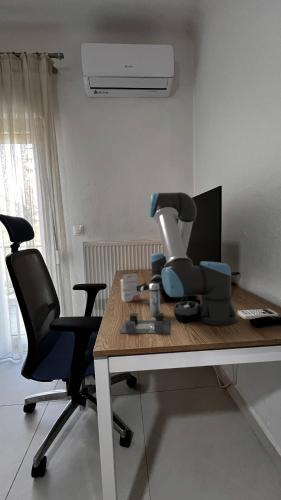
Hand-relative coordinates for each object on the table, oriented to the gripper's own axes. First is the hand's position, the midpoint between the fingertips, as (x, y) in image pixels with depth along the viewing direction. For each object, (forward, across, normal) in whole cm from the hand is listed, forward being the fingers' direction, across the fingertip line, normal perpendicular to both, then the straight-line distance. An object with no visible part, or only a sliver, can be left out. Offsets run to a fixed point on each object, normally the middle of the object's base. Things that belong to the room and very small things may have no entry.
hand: (155, 292), depth 115 cm
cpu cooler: (+14, -14, -8) cm, 21 cm away
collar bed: (+23, +3, -8) cm, 24 cm away
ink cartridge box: (-15, +15, -8) cm, 23 cm away
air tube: (+10, 0, -8) cm, 12 cm away
